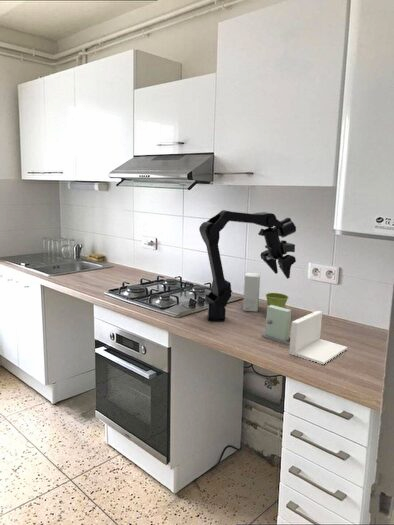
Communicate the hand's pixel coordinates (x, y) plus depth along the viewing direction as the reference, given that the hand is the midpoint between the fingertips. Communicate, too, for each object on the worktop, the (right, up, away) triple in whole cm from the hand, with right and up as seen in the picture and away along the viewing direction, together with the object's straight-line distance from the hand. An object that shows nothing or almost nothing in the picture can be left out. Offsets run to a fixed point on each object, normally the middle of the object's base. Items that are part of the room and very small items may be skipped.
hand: (282, 275), depth 175 cm
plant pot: (-3, -17, 0) cm, 17 cm away
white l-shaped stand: (-1, -23, -31) cm, 39 cm away
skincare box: (-12, -15, +9) cm, 21 cm away
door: (-7, -22, -26) cm, 34 cm away
